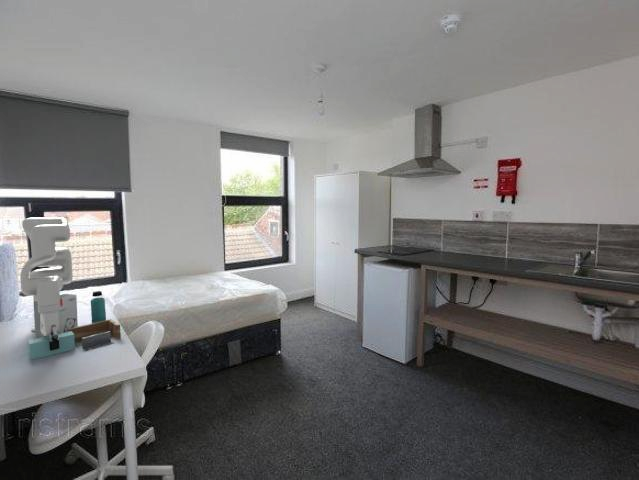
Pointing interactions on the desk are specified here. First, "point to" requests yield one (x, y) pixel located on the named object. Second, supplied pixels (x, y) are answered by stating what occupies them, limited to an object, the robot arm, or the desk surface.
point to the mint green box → (42, 348)
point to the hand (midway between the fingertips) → (52, 346)
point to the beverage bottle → (98, 308)
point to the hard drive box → (60, 315)
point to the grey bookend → (96, 341)
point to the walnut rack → (96, 330)
